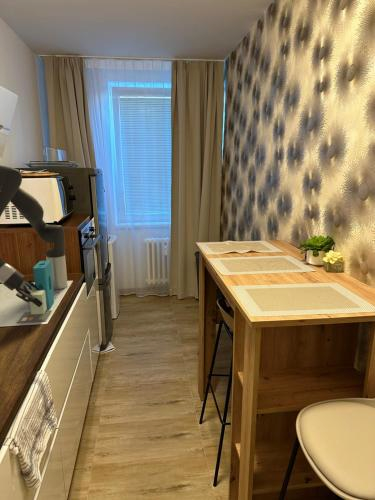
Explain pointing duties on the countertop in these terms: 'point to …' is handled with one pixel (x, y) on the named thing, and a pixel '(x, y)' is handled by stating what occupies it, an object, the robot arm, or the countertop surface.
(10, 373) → the countertop surface
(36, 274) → the block
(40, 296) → the sage block
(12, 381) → the countertop surface
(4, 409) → the countertop surface
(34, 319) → the marker mat
